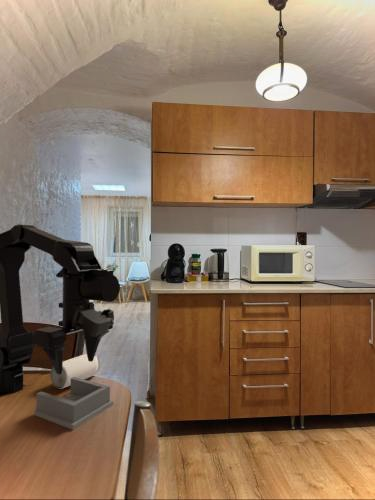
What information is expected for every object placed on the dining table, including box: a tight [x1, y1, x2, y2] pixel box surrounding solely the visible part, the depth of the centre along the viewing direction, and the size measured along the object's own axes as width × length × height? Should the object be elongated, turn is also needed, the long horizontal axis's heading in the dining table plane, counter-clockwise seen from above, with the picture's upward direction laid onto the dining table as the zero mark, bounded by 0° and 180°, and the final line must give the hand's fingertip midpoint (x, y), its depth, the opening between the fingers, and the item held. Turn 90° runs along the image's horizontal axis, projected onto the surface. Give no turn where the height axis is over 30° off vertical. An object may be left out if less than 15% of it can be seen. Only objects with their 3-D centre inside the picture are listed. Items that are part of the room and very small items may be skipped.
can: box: [49, 353, 101, 390], centre depth 91 cm, size 6×6×12 cm
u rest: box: [33, 377, 114, 431], centre depth 75 cm, size 12×12×4 cm
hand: (75, 367), depth 75 cm, fingers open, 9 cm apart
